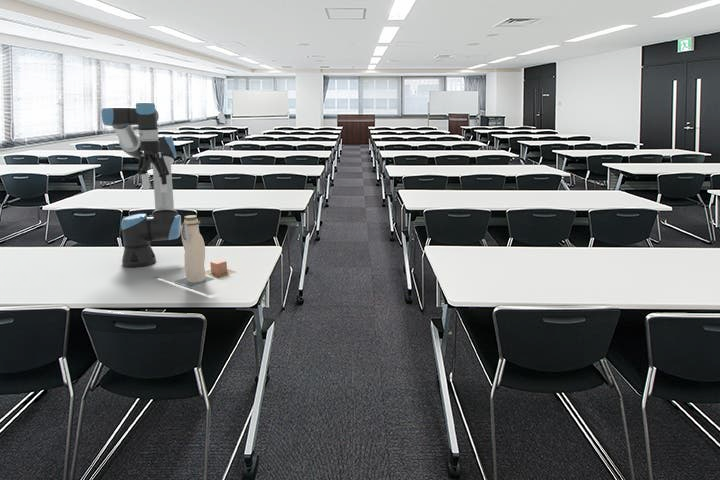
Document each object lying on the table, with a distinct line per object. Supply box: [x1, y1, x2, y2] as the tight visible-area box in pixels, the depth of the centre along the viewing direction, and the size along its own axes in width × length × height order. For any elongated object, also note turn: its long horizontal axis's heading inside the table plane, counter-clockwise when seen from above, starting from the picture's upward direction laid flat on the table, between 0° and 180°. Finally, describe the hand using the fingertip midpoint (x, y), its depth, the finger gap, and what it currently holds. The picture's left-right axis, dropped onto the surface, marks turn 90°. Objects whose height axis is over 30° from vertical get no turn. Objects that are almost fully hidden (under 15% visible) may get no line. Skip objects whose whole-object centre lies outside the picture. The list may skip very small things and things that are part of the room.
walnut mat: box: [205, 268, 237, 278], centre depth 235 cm, size 12×10×1 cm
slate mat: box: [174, 275, 215, 290], centre depth 225 cm, size 12×12×1 cm
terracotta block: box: [209, 258, 228, 275], centre depth 234 cm, size 5×5×5 cm
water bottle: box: [180, 214, 207, 283], centre depth 221 cm, size 10×9×28 cm
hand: (155, 190), depth 223 cm, fingers open, 13 cm apart
